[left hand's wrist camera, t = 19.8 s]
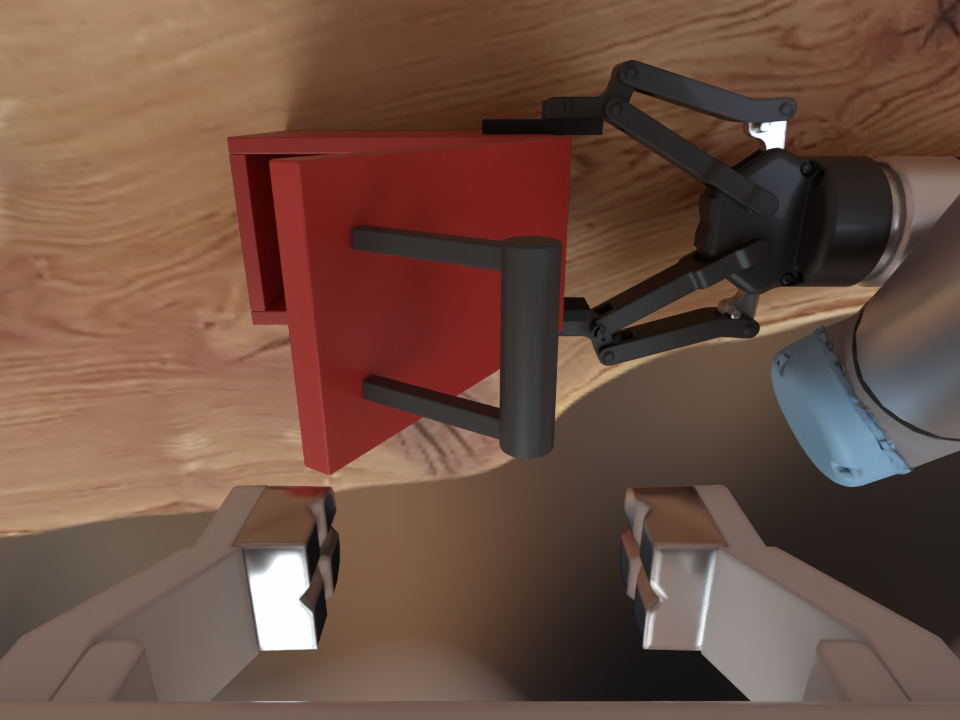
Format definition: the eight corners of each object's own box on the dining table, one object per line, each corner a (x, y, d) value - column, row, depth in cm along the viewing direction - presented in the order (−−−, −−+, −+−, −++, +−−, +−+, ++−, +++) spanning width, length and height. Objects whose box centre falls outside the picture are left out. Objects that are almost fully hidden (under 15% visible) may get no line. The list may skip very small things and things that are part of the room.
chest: (300, 279, 45) (252, 325, 36) (284, 130, 42) (226, 137, 32) (537, 278, 45) (551, 324, 36) (541, 129, 42) (559, 136, 32)
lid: (303, 466, 22) (512, 548, 18) (267, 159, 18) (519, 172, 14) (543, 326, 36) (691, 354, 31) (550, 136, 32) (717, 140, 28)
